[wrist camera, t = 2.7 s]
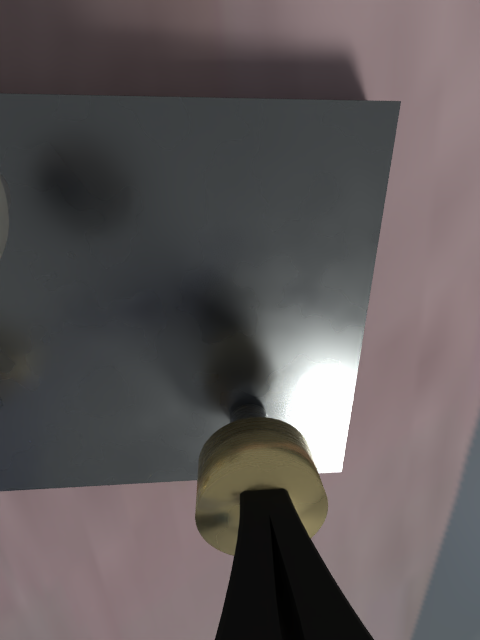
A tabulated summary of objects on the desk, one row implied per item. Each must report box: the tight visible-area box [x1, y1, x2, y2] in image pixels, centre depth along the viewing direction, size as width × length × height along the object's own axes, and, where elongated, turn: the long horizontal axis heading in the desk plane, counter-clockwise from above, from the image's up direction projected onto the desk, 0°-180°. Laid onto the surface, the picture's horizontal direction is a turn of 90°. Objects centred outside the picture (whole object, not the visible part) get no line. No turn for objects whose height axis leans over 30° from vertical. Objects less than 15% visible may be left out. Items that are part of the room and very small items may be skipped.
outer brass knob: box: [195, 404, 328, 556], centre depth 12 cm, size 4×4×4 cm
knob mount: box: [0, 93, 401, 491], centre depth 13 cm, size 23×15×2 cm, turn 90°
